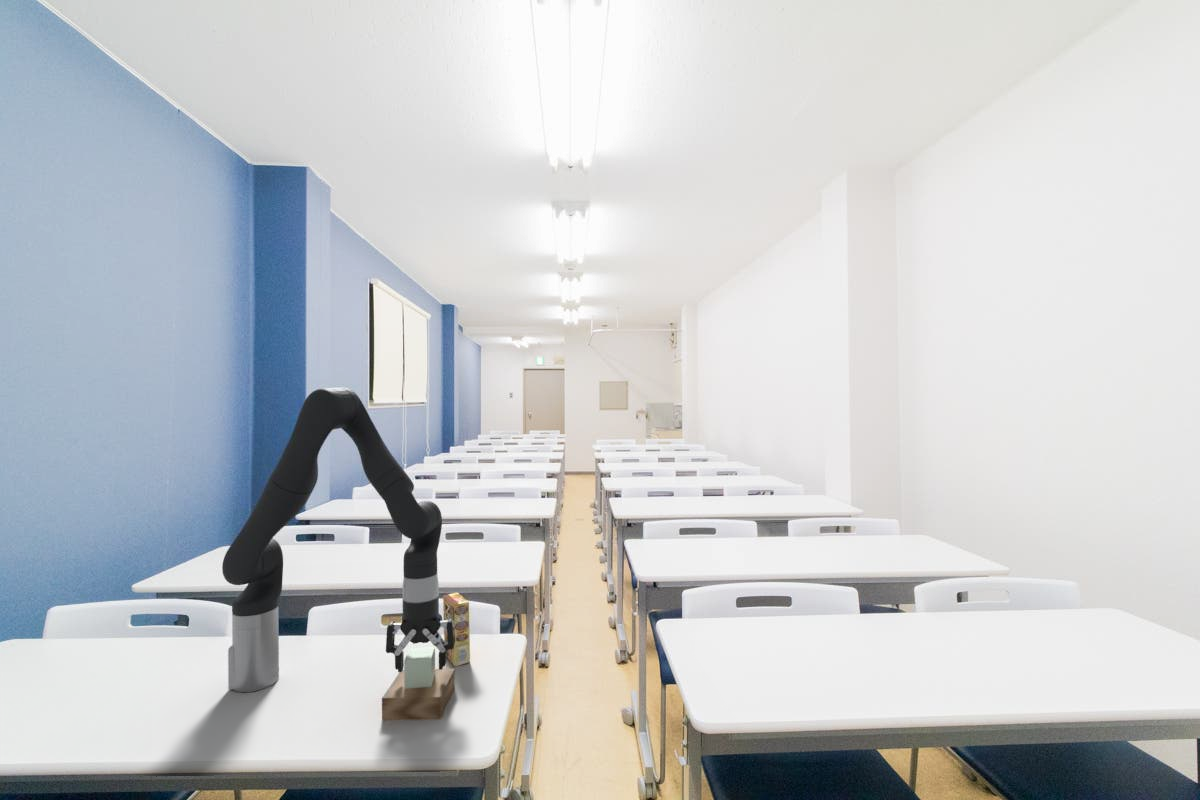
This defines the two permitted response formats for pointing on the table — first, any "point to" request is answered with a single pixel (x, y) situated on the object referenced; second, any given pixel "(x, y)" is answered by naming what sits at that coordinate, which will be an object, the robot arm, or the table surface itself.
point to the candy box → (458, 627)
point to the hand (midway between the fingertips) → (421, 669)
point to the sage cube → (419, 667)
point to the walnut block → (418, 698)
